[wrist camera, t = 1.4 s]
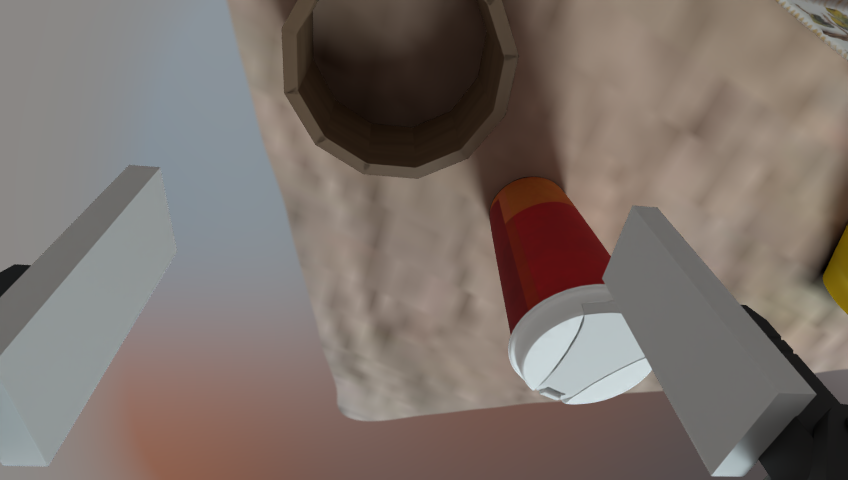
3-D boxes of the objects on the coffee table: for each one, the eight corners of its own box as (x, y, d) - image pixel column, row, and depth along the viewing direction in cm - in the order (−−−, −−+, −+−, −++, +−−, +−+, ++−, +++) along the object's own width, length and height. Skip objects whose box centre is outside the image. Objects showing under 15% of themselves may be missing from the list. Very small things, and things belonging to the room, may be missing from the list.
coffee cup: (534, 267, 41) (593, 426, 29) (453, 226, 38) (482, 382, 26) (605, 193, 37) (708, 339, 25) (521, 140, 35) (591, 276, 22)
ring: (298, -83, 26) (277, -78, 22) (514, -53, 28) (540, -41, 23) (302, 127, 33) (287, 167, 28) (476, 143, 34) (489, 184, 30)
